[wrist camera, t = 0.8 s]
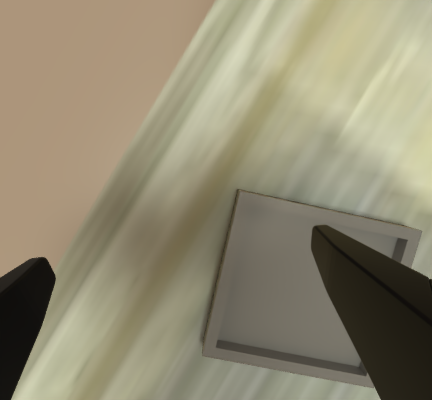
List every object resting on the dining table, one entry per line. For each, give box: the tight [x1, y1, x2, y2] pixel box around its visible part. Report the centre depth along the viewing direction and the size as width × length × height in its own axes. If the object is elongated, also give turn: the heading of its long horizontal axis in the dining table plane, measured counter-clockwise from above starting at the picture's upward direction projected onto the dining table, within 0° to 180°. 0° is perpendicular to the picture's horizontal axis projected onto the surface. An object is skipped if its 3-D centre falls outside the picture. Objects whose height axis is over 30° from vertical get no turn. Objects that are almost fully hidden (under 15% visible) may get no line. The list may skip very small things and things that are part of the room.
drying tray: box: [202, 189, 422, 388], centre depth 25 cm, size 15×16×2 cm
